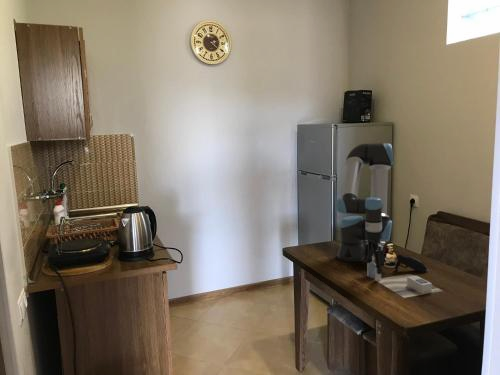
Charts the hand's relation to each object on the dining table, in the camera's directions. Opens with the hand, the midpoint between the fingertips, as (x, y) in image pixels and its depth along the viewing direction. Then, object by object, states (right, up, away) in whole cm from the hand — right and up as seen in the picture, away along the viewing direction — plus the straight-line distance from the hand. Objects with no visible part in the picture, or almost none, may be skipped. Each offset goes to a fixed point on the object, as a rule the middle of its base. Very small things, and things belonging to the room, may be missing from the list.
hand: (374, 277), depth 195 cm
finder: (+16, -2, -14) cm, 21 cm away
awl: (0, -1, +1) cm, 1 cm away
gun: (+21, +1, +8) cm, 22 cm away
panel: (+12, -2, -9) cm, 15 cm away
